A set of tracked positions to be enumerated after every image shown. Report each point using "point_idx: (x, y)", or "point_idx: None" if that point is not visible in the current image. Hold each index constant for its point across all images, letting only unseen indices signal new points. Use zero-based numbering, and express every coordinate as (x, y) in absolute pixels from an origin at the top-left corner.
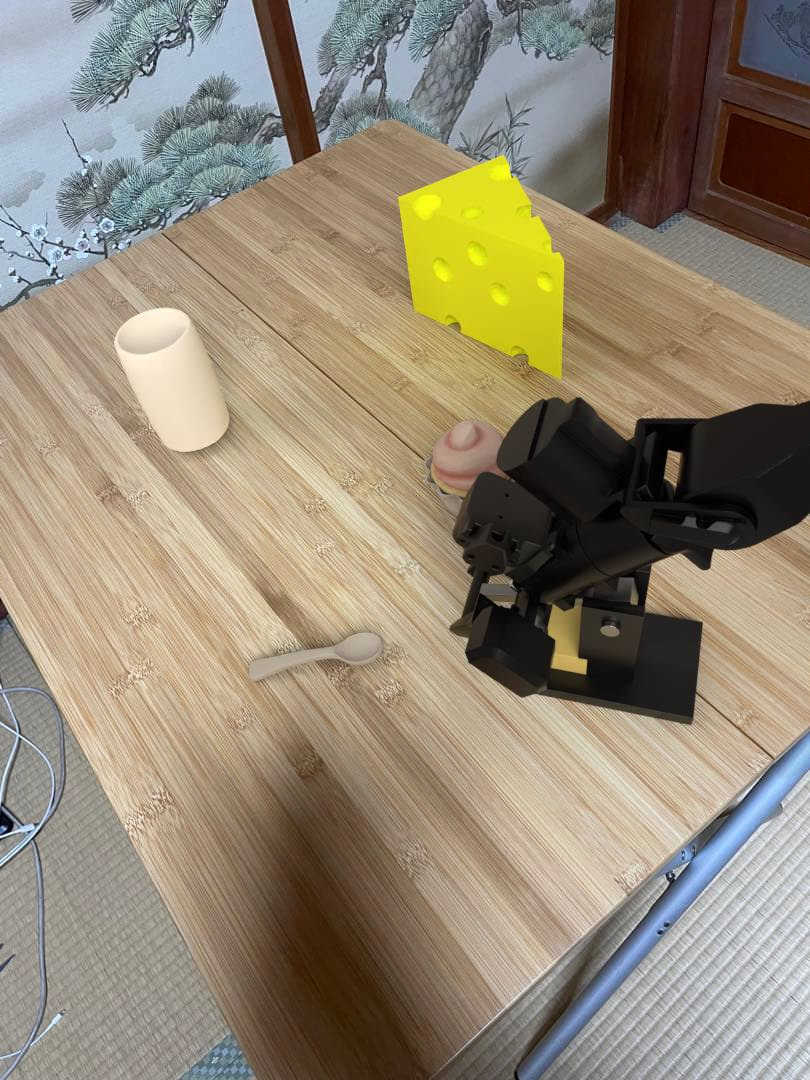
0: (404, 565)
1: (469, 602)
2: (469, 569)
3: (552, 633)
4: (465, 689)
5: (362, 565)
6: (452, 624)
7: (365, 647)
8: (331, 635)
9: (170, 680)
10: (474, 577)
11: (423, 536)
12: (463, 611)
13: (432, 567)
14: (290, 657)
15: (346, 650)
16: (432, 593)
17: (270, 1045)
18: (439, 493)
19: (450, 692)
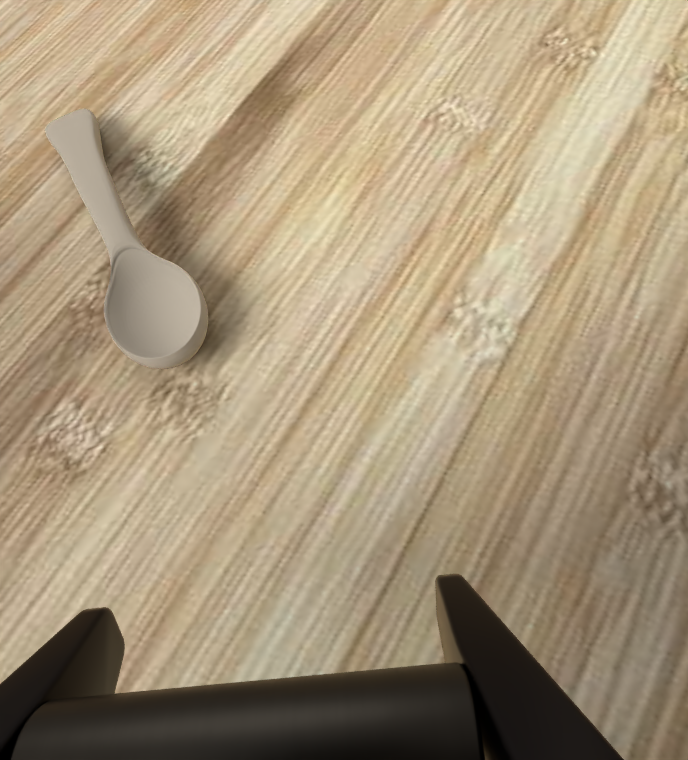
0: (484, 314)
1: (108, 750)
2: (442, 595)
3: None
4: None
5: (439, 214)
6: (83, 629)
7: (173, 321)
8: (210, 234)
9: (44, 16)
10: (325, 705)
11: (610, 324)
12: (56, 720)
13: (511, 392)
14: (85, 165)
15: (151, 280)
16: (420, 428)
17: None
18: None
19: None
